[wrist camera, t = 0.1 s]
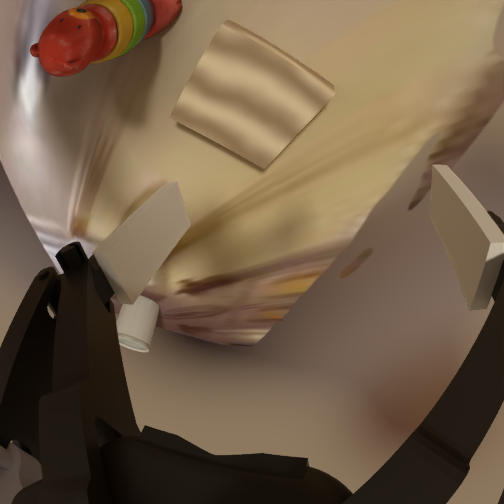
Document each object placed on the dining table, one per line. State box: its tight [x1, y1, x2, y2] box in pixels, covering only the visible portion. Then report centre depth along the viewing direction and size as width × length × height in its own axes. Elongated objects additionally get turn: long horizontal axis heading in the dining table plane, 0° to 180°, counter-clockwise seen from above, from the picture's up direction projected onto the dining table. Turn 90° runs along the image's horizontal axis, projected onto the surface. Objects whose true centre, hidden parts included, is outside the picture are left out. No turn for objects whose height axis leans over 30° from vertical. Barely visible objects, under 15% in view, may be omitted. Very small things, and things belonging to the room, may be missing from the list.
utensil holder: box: [116, 295, 160, 352], centre depth 102 cm, size 15×15×18 cm
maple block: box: [170, 20, 335, 169], centre depth 36 cm, size 16×16×4 cm
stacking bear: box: [30, 0, 182, 77], centre depth 22 cm, size 11×10×18 cm
